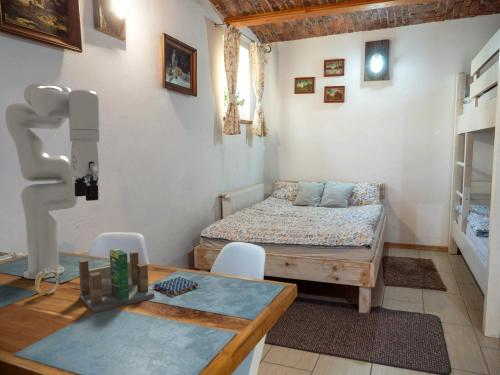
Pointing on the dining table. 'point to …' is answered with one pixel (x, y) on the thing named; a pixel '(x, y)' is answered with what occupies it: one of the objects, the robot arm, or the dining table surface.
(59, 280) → the bracelet
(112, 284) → the coffee box
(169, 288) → the woven mat
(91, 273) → the wooden block stand
